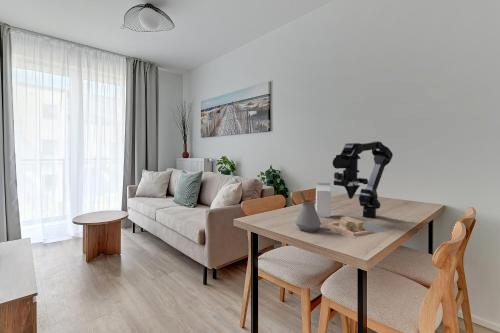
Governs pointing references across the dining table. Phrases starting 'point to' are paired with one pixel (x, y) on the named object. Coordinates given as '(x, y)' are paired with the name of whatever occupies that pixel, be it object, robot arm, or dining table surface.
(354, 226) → the t block
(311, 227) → the coffee pot
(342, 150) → the robot arm
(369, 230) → the board
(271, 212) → the dining table surface
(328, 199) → the milk carton
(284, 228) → the dining table surface
